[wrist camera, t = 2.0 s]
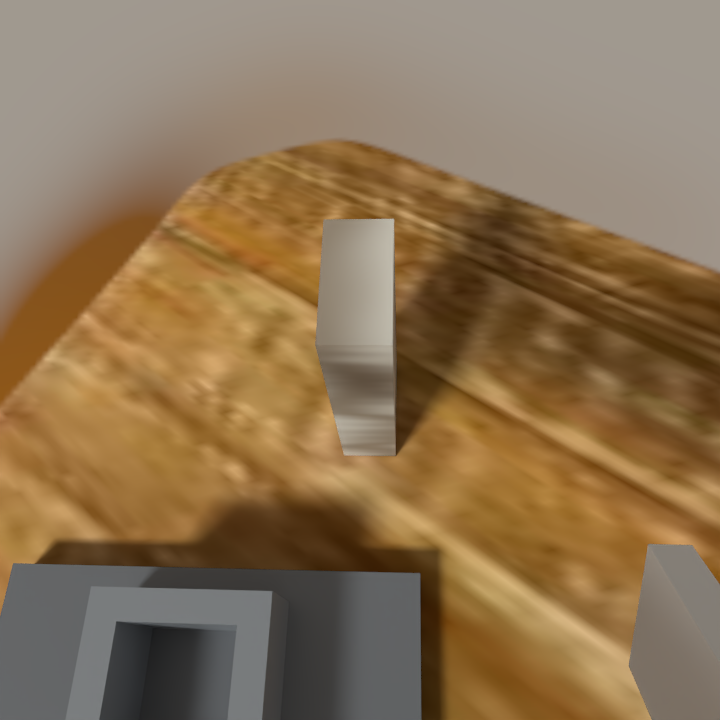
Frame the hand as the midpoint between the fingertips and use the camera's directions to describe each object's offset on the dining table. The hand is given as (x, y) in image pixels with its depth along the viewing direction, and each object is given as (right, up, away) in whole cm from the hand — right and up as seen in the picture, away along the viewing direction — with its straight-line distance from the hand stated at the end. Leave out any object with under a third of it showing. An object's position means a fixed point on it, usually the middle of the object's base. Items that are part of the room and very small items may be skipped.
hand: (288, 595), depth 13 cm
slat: (+2, +2, +21) cm, 21 cm away
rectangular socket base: (-5, -11, +15) cm, 19 cm away
